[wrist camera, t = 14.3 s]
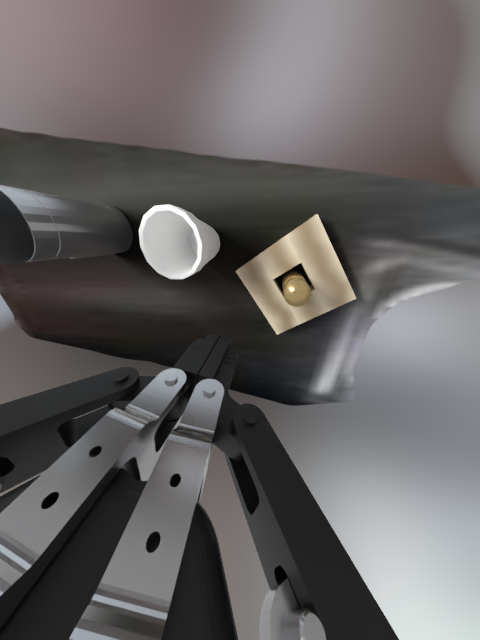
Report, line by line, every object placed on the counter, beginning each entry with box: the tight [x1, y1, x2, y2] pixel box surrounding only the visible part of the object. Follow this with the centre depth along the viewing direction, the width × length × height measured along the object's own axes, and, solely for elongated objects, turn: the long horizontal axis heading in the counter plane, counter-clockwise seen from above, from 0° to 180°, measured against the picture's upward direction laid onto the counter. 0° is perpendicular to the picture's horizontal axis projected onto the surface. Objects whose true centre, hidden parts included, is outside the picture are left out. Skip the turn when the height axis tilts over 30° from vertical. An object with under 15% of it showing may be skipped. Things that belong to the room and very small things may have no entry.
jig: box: [236, 214, 356, 334], centre depth 33 cm, size 16×16×4 cm
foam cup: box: [139, 204, 220, 279], centre depth 29 cm, size 10×9×13 cm
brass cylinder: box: [282, 270, 311, 307], centre depth 30 cm, size 4×4×10 cm
